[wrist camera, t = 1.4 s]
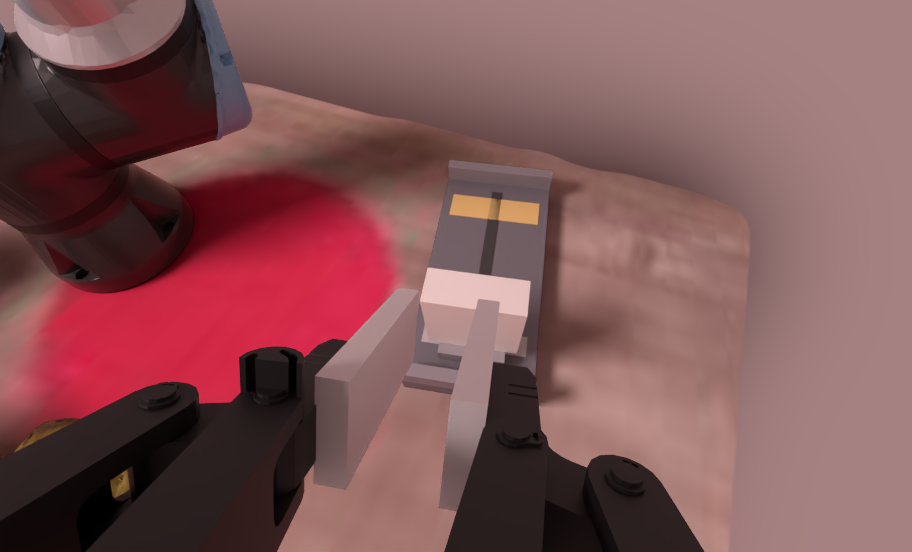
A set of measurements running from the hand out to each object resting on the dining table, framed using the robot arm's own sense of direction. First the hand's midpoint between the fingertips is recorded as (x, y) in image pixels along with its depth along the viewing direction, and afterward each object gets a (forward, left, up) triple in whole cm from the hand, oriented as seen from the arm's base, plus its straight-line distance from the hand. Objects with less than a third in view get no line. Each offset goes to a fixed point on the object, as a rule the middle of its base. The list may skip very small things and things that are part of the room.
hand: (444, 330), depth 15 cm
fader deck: (-11, +13, -26) cm, 31 cm away
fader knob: (-6, +7, -24) cm, 25 cm away
